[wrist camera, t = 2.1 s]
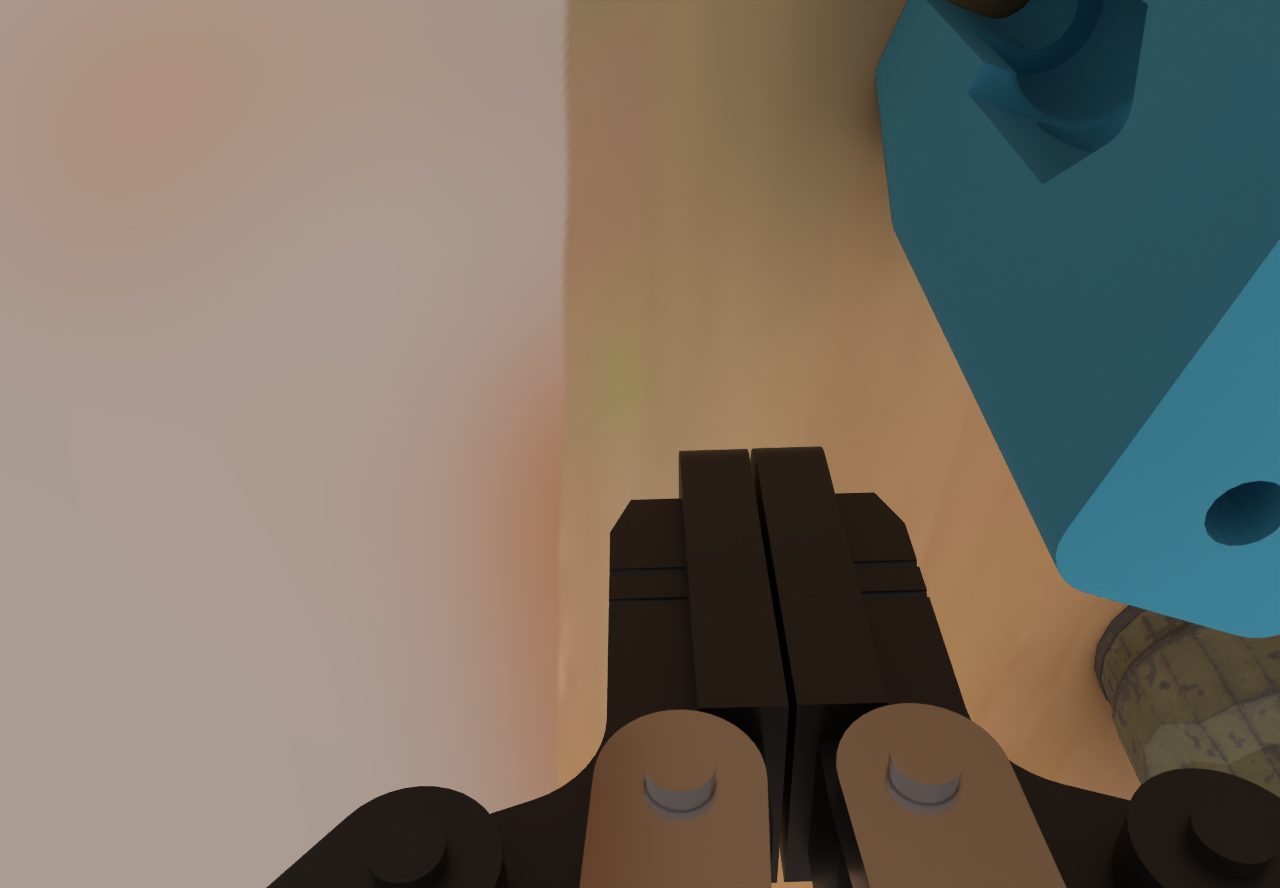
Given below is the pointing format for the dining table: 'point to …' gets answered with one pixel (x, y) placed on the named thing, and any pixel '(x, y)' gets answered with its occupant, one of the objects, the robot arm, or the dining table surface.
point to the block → (1109, 276)
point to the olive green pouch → (1192, 697)
